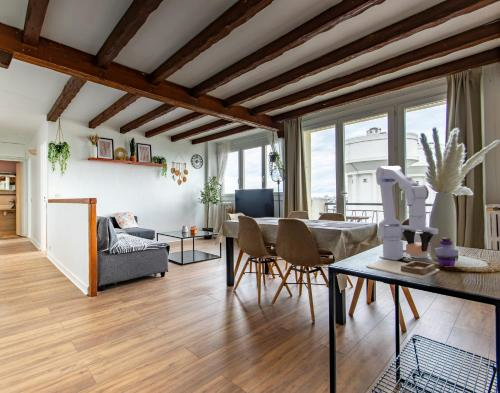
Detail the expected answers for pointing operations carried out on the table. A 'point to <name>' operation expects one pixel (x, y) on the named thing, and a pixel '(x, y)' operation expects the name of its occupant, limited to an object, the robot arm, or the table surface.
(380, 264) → the mat
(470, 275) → the table surface
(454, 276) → the table surface
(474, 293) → the table surface
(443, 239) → the potion bottle
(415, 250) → the salmon orange block
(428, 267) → the tray
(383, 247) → the robot arm
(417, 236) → the skincare box
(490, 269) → the table surface
